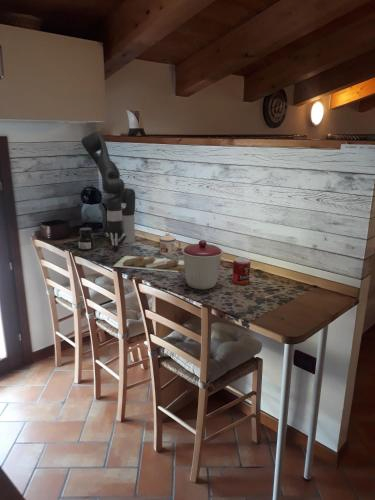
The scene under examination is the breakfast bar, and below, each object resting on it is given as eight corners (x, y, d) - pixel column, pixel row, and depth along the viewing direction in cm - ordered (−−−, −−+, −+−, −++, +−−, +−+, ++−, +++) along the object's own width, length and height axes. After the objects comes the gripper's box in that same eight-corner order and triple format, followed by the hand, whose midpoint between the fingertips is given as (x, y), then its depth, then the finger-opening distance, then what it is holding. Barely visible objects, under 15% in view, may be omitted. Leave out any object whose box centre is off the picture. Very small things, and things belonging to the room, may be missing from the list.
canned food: (238, 286, 175) (240, 263, 172) (228, 280, 182) (230, 258, 179) (252, 283, 179) (254, 260, 175) (242, 278, 185) (243, 256, 182)
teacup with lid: (156, 253, 221) (156, 233, 218) (167, 250, 227) (167, 230, 224) (170, 257, 213) (170, 237, 210) (182, 254, 220) (182, 234, 216)
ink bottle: (75, 249, 225) (73, 229, 221) (84, 245, 233) (83, 226, 229) (89, 251, 221) (87, 231, 218) (98, 248, 229) (97, 228, 226)
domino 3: (148, 261, 199) (166, 257, 196) (149, 265, 200) (167, 260, 197) (145, 264, 194) (164, 260, 192) (146, 268, 195) (165, 263, 192)
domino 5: (171, 263, 197) (190, 265, 195) (171, 267, 197) (190, 268, 195) (169, 266, 192) (188, 268, 190) (169, 270, 193) (188, 272, 191)
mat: (125, 256, 214) (125, 255, 214) (185, 261, 208) (185, 260, 208) (112, 266, 197) (112, 266, 197) (177, 272, 190) (177, 272, 190)
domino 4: (159, 262, 198) (177, 258, 195) (160, 266, 198) (178, 262, 196) (156, 265, 193) (175, 261, 191) (157, 269, 194) (176, 265, 191)
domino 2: (137, 260, 200) (154, 256, 198) (138, 264, 201) (155, 260, 198) (133, 263, 196) (151, 259, 193) (134, 267, 196) (152, 263, 193)
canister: (229, 285, 175) (231, 240, 170) (203, 296, 163) (205, 248, 157) (199, 275, 187) (200, 233, 181) (172, 285, 174) (173, 240, 169)
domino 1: (126, 259, 201) (143, 255, 199) (127, 263, 202) (144, 259, 199) (122, 262, 197) (140, 258, 194) (123, 266, 197) (141, 262, 194)
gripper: (99, 219, 191) (100, 253, 197) (124, 221, 189) (125, 255, 194) (105, 216, 199) (106, 249, 204) (129, 218, 196) (130, 251, 201)
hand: (116, 252), depth 199 cm, fingers closed
